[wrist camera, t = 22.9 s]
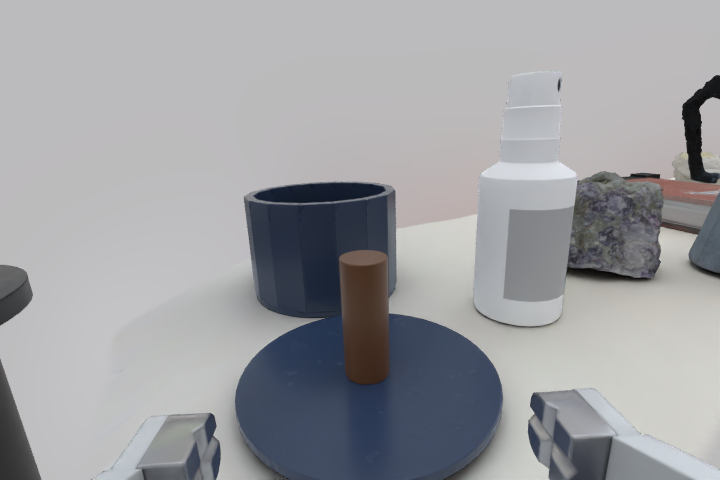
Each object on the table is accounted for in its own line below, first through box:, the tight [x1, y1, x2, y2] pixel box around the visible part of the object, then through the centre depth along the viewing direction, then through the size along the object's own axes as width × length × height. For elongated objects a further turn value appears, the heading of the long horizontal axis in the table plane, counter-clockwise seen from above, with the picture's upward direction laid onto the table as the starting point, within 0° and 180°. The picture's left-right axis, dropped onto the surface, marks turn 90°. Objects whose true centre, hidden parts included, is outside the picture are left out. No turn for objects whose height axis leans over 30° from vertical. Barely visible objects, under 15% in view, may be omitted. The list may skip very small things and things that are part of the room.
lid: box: [235, 250, 503, 480], centre depth 21 cm, size 15×15×8 cm
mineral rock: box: [567, 171, 664, 279], centre depth 39 cm, size 13×11×10 cm
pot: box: [244, 182, 396, 318], centre depth 36 cm, size 14×14×10 cm
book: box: [577, 173, 720, 234], centre depth 60 cm, size 26×18×5 cm
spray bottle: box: [473, 71, 578, 326], centre depth 29 cm, size 7×7×18 cm
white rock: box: [672, 152, 720, 185], centre depth 79 cm, size 12×8×10 cm
